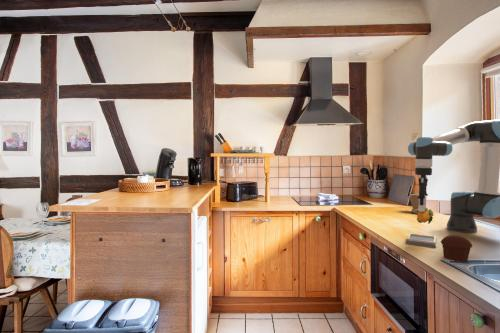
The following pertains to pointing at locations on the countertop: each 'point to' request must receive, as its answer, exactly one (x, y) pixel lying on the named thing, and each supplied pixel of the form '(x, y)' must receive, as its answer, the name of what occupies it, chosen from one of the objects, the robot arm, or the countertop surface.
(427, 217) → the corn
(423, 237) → the board
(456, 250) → the muffin
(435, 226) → the countertop surface
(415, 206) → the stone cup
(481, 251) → the countertop surface
